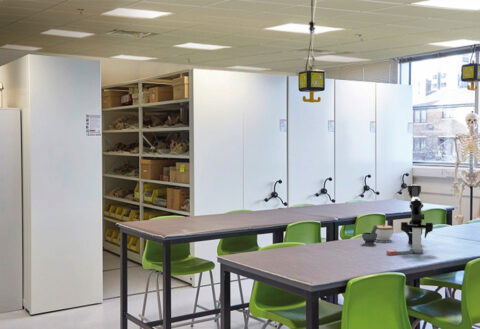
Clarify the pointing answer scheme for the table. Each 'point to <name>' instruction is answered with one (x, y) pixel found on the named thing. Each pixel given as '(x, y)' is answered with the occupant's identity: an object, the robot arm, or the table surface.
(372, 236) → the mortar and pestle
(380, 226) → the lidded bowl
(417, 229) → the socket
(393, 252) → the ratchet
